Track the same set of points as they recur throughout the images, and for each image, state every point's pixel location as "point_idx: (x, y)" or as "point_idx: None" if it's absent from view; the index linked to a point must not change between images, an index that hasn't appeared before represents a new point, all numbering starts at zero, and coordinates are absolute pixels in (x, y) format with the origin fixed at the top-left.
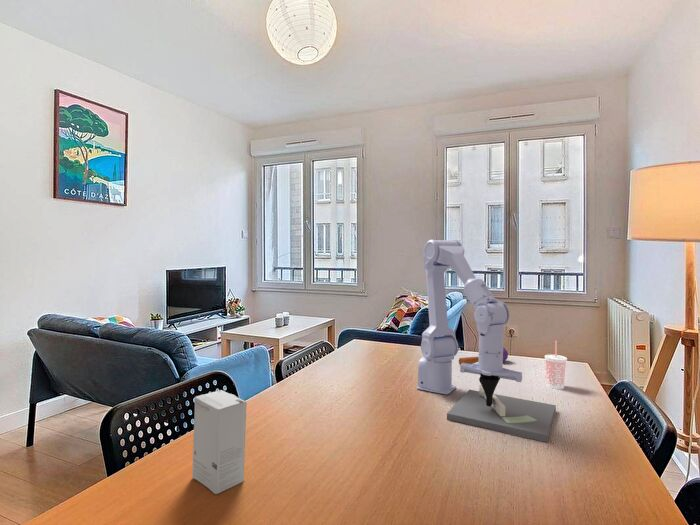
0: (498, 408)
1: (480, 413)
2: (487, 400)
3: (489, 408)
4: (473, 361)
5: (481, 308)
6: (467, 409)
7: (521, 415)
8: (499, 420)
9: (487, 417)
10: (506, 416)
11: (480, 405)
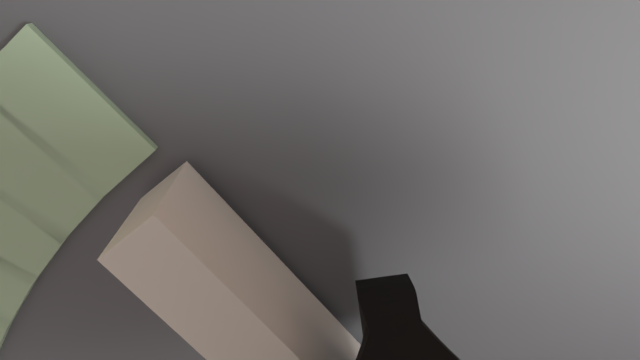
0: (221, 241)
1: (421, 107)
2: (401, 307)
3: None
4: None
5: None
6: (600, 123)
7: (44, 345)
8: (147, 52)
9: (303, 44)
10: None
11: (498, 325)
